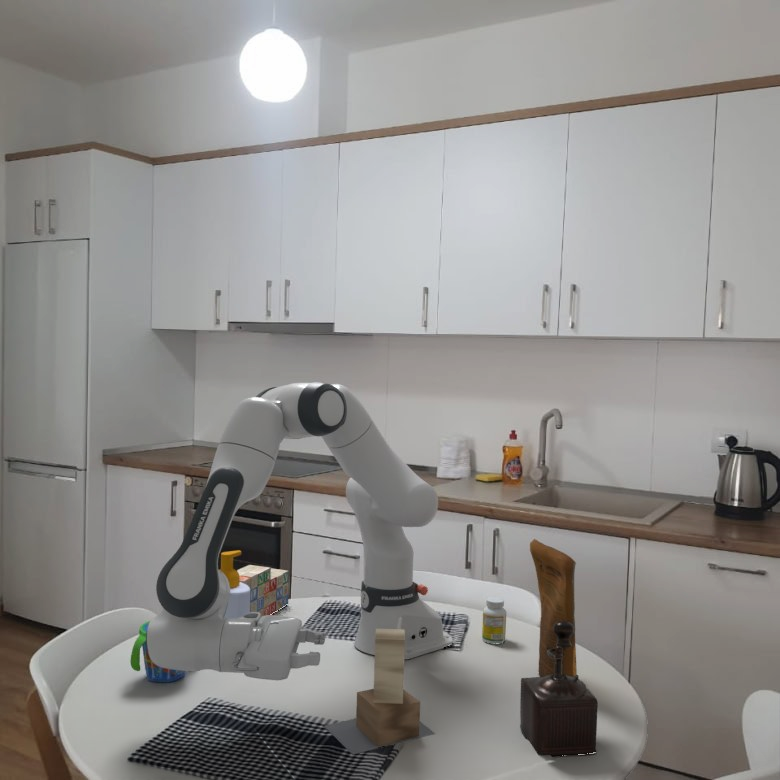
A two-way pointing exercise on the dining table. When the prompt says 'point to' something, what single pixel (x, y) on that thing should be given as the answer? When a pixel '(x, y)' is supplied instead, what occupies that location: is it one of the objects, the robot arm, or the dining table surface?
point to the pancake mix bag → (554, 604)
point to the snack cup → (151, 669)
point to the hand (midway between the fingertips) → (322, 648)
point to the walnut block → (387, 718)
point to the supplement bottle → (494, 621)
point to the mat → (363, 736)
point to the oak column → (389, 666)
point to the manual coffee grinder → (558, 707)
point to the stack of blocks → (265, 588)
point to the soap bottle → (235, 588)
